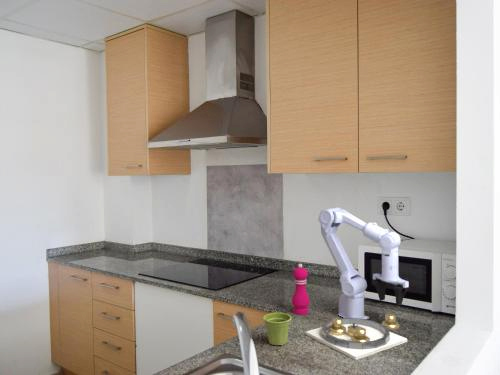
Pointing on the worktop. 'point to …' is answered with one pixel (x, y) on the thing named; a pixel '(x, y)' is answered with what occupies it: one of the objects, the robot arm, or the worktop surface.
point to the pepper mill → (300, 291)
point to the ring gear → (357, 344)
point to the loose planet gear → (390, 322)
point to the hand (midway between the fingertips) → (390, 302)
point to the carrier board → (352, 353)
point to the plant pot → (277, 327)
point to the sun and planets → (353, 330)
